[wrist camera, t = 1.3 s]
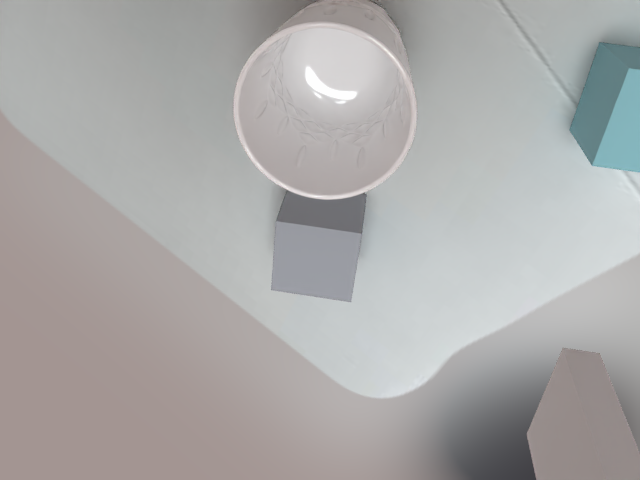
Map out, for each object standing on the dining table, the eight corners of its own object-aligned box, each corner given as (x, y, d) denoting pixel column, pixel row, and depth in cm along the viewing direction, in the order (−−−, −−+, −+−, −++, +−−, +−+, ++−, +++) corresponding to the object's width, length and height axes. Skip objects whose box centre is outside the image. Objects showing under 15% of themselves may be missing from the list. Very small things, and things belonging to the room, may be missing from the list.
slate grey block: (289, 182, 39) (275, 221, 34) (366, 193, 38) (361, 233, 34) (284, 247, 41) (271, 289, 37) (356, 257, 41) (350, 302, 37)
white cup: (254, 85, 35) (208, 153, 27) (309, -47, 31) (274, -15, 23) (373, 143, 36) (363, 226, 28) (440, 23, 32) (453, 78, 24)
